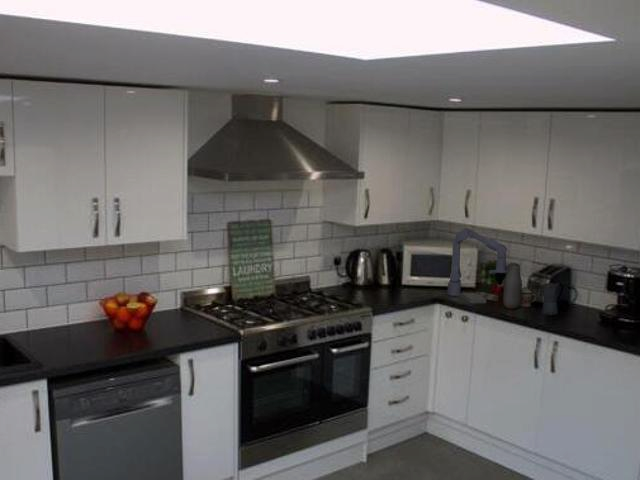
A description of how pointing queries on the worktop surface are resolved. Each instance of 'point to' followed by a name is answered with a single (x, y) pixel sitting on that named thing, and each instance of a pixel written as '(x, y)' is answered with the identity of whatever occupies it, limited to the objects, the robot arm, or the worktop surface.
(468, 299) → the seat panel
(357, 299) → the worktop surface
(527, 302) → the teacup with lid
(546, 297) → the moka pot
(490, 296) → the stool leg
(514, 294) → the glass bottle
